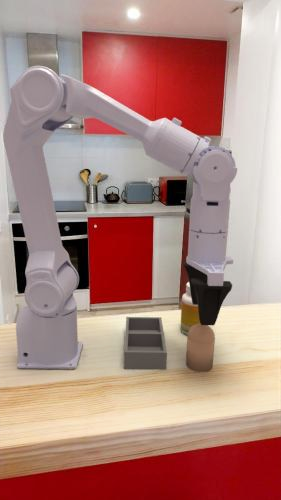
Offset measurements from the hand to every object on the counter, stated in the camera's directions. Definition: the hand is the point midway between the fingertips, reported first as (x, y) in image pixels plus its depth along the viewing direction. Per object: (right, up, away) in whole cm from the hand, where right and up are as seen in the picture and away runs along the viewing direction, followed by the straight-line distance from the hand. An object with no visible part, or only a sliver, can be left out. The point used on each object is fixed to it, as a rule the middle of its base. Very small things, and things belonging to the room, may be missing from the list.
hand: (202, 313), depth 58 cm
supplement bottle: (+1, -6, +14) cm, 15 cm away
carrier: (-9, -7, +7) cm, 14 cm away
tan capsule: (0, -9, +2) cm, 9 cm away
